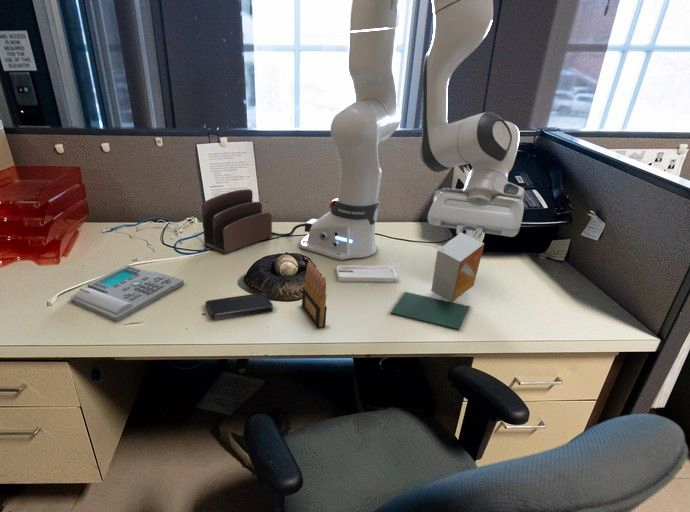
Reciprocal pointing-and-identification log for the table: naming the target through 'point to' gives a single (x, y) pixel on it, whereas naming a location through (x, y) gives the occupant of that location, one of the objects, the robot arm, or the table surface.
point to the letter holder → (234, 221)
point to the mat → (431, 310)
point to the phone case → (367, 274)
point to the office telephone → (124, 291)
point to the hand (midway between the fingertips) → (464, 245)
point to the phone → (238, 306)
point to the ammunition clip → (315, 296)
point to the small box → (456, 267)
